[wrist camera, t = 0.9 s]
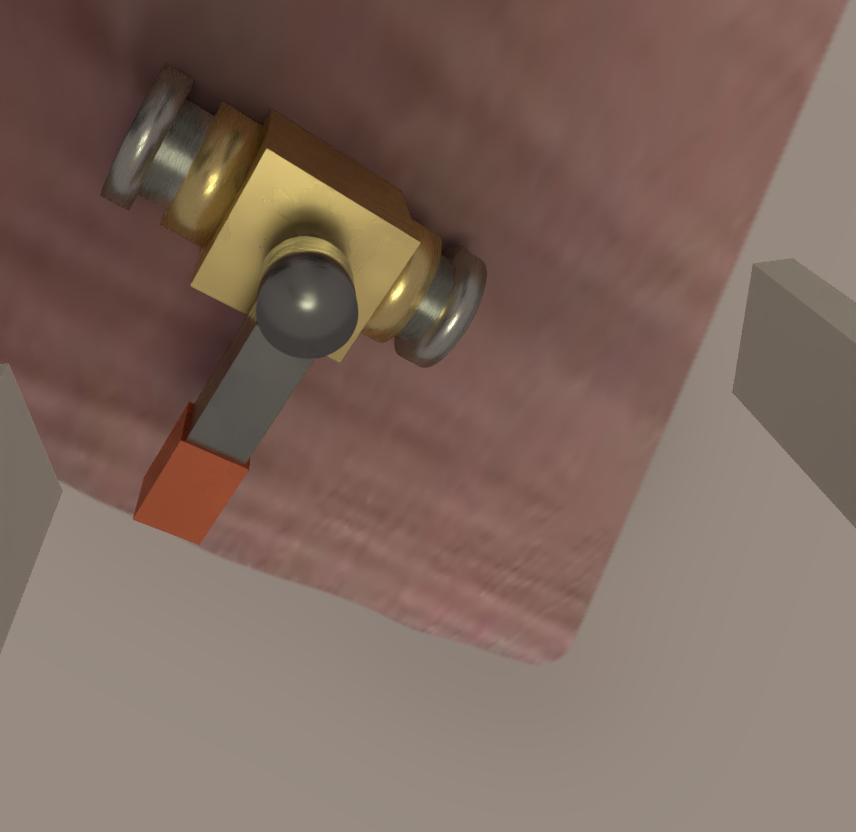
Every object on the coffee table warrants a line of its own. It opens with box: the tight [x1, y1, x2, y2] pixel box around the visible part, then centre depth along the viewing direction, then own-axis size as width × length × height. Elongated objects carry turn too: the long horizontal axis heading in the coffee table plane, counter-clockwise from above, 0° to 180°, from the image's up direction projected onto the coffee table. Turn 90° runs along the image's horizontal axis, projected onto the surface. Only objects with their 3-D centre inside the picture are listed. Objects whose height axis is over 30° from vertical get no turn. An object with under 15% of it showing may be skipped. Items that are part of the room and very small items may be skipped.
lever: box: [133, 236, 358, 545], centre depth 31 cm, size 13×4×3 cm, turn 146°
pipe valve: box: [100, 63, 487, 368], centre depth 35 cm, size 16×6×9 cm, turn 56°
